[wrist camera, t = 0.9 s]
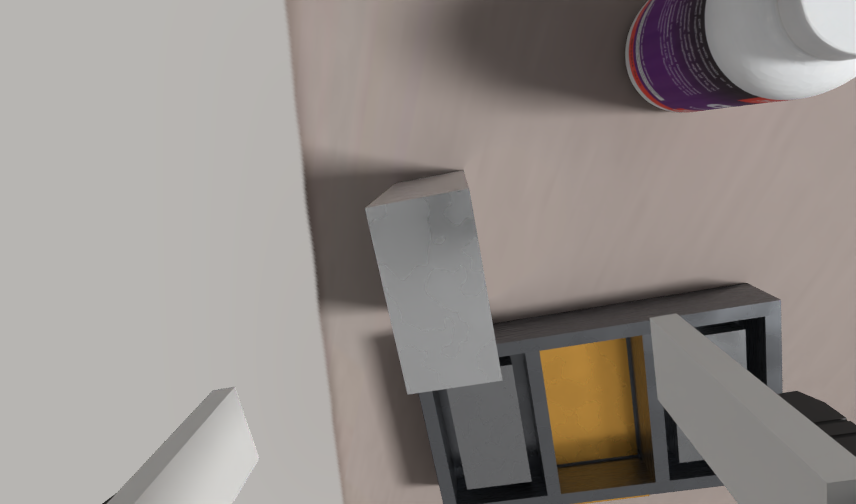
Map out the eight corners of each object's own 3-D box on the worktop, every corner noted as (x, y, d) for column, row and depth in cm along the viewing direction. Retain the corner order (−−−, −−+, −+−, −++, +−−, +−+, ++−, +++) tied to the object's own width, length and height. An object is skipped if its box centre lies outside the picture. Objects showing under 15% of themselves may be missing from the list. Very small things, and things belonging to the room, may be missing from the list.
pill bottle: (656, 137, 32) (818, 137, 18) (596, 34, 30) (720, -54, 16) (768, 64, 30) (1041, 1, 16) (710, -48, 29) (955, -221, 15)
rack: (414, 336, 36) (410, 357, 33) (746, 283, 34) (780, 299, 30) (447, 487, 39) (447, 522, 36) (752, 449, 37) (783, 481, 33)
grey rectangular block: (395, 183, 33) (364, 208, 22) (463, 170, 33) (469, 188, 21) (422, 310, 36) (407, 394, 24) (486, 299, 35) (502, 380, 24)
